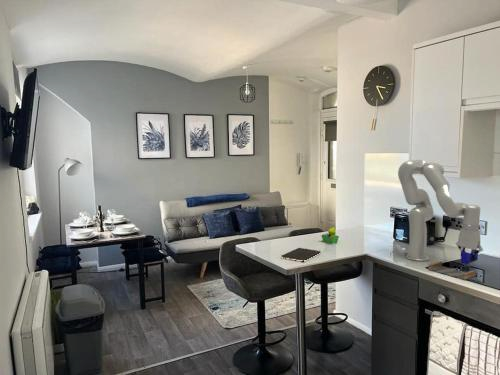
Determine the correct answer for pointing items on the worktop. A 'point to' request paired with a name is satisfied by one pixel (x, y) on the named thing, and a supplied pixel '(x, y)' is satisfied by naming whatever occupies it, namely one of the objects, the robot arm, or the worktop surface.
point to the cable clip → (467, 257)
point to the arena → (451, 271)
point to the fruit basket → (330, 236)
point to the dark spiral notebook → (301, 254)
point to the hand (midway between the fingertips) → (467, 259)
